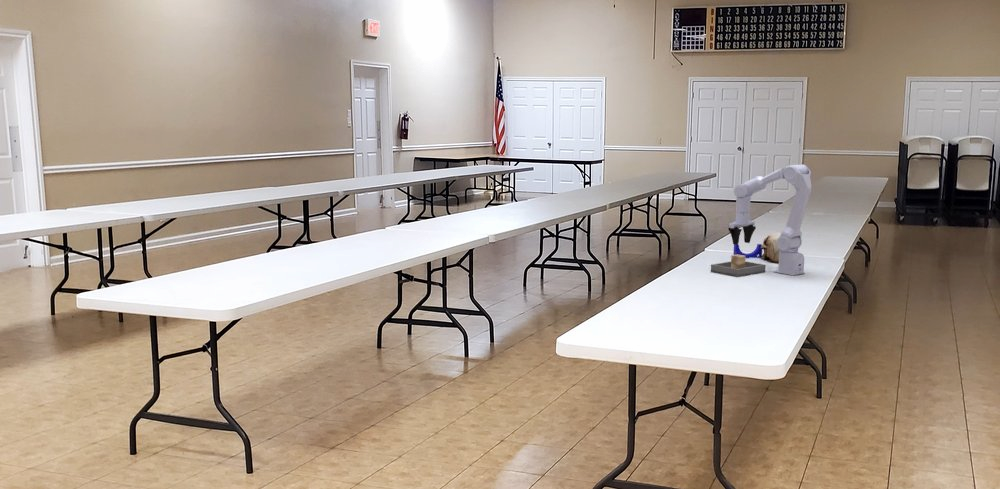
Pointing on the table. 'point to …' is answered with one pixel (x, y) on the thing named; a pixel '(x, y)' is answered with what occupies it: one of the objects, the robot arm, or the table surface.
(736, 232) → the robot arm
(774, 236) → the coin bank
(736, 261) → the maple block
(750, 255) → the cable clip
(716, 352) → the table surface
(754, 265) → the tray
